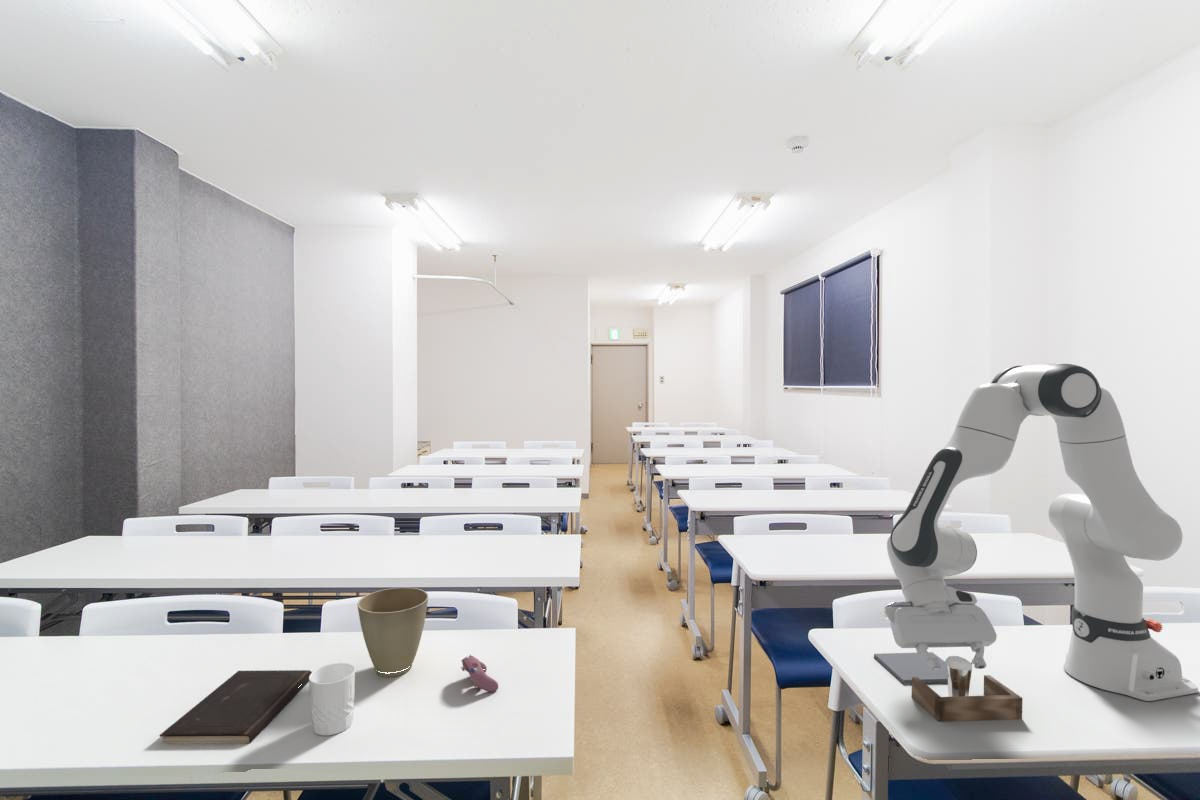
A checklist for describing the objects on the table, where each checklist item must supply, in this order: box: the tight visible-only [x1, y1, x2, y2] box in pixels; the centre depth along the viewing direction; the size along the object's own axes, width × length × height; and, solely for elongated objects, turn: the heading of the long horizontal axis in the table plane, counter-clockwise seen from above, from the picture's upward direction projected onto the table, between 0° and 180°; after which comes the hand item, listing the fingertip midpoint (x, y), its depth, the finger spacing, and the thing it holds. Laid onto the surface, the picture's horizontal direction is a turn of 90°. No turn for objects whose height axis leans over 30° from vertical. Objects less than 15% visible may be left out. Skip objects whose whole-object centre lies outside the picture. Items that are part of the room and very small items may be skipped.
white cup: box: [308, 662, 356, 737], centre depth 109 cm, size 8×8×10 cm
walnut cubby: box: [911, 674, 1023, 722], centre depth 115 cm, size 16×9×4 cm, turn 93°
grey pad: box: [873, 651, 948, 685], centre depth 130 cm, size 14×12×1 cm
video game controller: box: [460, 654, 499, 693], centre depth 124 cm, size 10×5×7 cm, turn 28°
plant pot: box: [356, 586, 429, 678], centre depth 130 cm, size 15×15×16 cm
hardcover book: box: [159, 669, 313, 744], centre depth 115 cm, size 16×23×2 cm
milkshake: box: [944, 655, 976, 697], centre depth 116 cm, size 5×5×10 cm
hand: (958, 668), depth 116 cm, fingers open, 8 cm apart
